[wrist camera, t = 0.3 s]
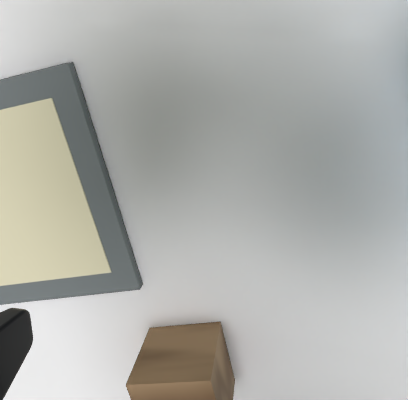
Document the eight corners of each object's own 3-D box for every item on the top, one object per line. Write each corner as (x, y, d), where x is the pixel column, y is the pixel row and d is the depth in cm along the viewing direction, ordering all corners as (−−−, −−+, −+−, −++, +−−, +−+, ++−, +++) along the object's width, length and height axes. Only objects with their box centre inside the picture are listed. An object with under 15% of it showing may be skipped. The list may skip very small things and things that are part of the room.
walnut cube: (234, 379, 27) (228, 446, 22) (167, 382, 28) (148, 447, 23) (220, 320, 25) (210, 380, 21) (149, 326, 26) (125, 385, 22)
